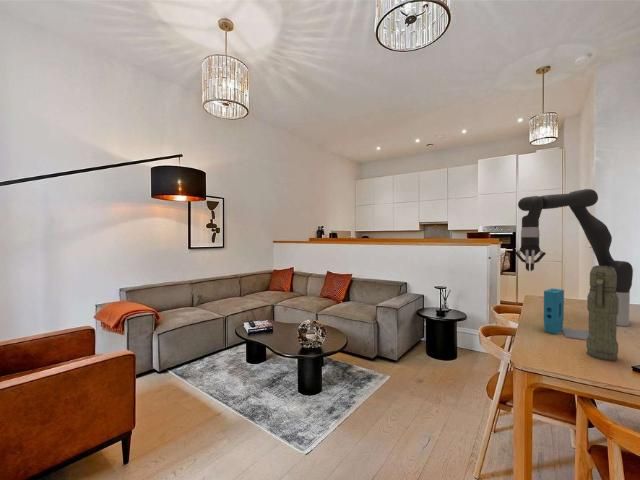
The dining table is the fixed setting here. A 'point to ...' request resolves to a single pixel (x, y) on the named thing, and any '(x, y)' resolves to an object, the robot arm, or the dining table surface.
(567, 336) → the mat
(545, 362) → the dining table surface
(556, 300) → the block
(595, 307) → the olive green pouch
